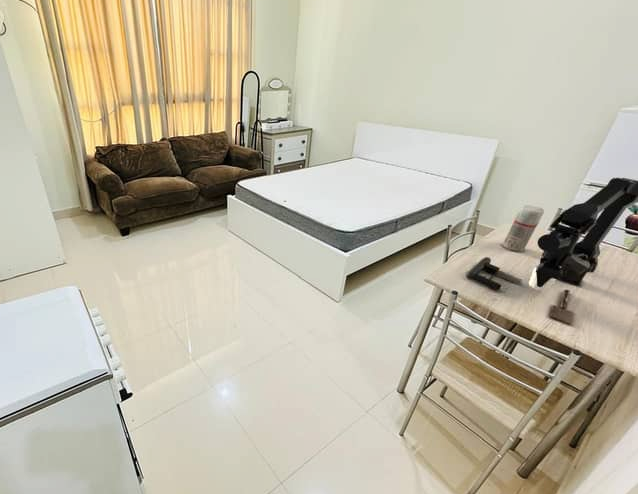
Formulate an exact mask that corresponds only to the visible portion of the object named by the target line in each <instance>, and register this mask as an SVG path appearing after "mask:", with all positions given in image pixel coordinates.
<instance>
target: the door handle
mask: <svg viewBox="0 0 638 494" xmlns="http://www.w3.org/2000/svg"><path fill="white" fill-rule="evenodd" d="M491 262H492V259H491V258H490V257H488V256H486V257H483V258H480V261H478V262H477V263H476V265H474V266H473V267H472V268H470V270H469V271H468V270H466V272H464V273H465V277H466V279H467V280H471V281H474V282H476V283H479V284H480V285H483V286H485V287H488V288H490V289H492V290H494V291H500V289H502V284H501V283H499V282H497V281H494V280H492V279H493V278H494V277H496V276H497V277H500V278H503V279H505V280H507V281H510V282H512V283H514V284H517V285H521V284H522V282H523V279H522V278H520V277H517V276H515V275H512V274H510V273H508V272H506V271H504V270H500V269H501V267H499V266H496V265H495V264H491ZM482 272H483V273H486V274H489V275H491V276H490V277H489V278H488V277H487V276H486V275H481V274H480V273H482Z"/></svg>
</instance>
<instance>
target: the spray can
mask: <svg viewBox="0 0 638 494" xmlns="http://www.w3.org/2000/svg"><path fill="white" fill-rule="evenodd" d="M544 214H545V210H544V208H543V207H539V206H535V205H529V204H527V205H524V206H523V207H522V208H520V209H519V211H518V212H517V214H516V216H515V218H514V220H513V222H512V225H511V227H510V229H509V231H508V233H507V235H506V237H505V239H504V241H503V242H502V247H504V248H505V249H507V250H510V251H513V252H523V251H525V249H526V247H527V245H528V244H529V241H530V240H531V238H532V236H533V234H534V232H535V231H536V228H537V226H539V223H540V221H541V219H542V217H543V215H544Z"/></svg>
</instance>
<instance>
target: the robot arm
mask: <svg viewBox="0 0 638 494" xmlns="http://www.w3.org/2000/svg"><path fill="white" fill-rule="evenodd" d="M637 203H638V180H636V179H632V178H626V177H612V178H611V179H610V180H609V181H608V183H607V184H606V185H605V186H603V188H601V189H600V190H599V191H597V192H596V193H594V195H592V196H591V197H590V198H588V200H586V201H584V202H582V203H576V204H573V205H572V206H570V207H569V208H567V209H565V210H563V211H562V212H561V213H560V214H559V215H558V217H557V218H556V219H555V220H554V221H553V222H552V223H551V224H550V226H549V228H551V229H553V230H550V232H549V233H546V234H543V235H541V236H540V237H538V239H537V247H538V248H539V249H540V250H542V254H541V257H540V258H539V263H538V267H537V269H536V275H537V286H538V287H542V286H543V285H544V284H545V283H546V282H547V281H549V280H550V279H551V278H553V279H556V281H557V280H559V281H562V282H566V283H568V284H571V285H575V286H578V287H579V286H581V282H582V281H583V280H584V278H585V276H586V275H587V273H588V274H589V273H590V274H591V273H593V274H594V273H595V271H596V269H597V268H598V267H599V256H600V255H601V250H600V249H601V248H600V245H601V243H602V242H603V241H604V239H605V238H606V237H607V235H608V234H609V233H610V232H611V230H612V228H613V227H614V226H615V225H616V223H617V221H618V220H619V219H620V217H621V216H622V215H623V213H624V212H625V211H626V209H627V208H629V207H631V206H633V205H634V204H637ZM583 235H585V236H584V237H583V238H582V239H581V237H582V236H583ZM580 239H581V240H580Z"/></svg>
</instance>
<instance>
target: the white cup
mask: <svg viewBox="0 0 638 494" xmlns="http://www.w3.org/2000/svg"><path fill="white" fill-rule="evenodd" d="M538 265H539V264H538ZM538 265H535V266H534V268H533V271H532V274H531V275H530V278H529V281H528V285H529V286H530V287H531V288H533V289H535V290H538V291H543V292H546V291H549V290H550V289H551V287H552V286H553V285H554V284H555V282H556V281H557V279H553V278H551V279H550V280H549V281H547V282H546V283H545V284H544V285H543V286H542V287H538V286H537V275H536V269H537V267H538Z"/></svg>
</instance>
